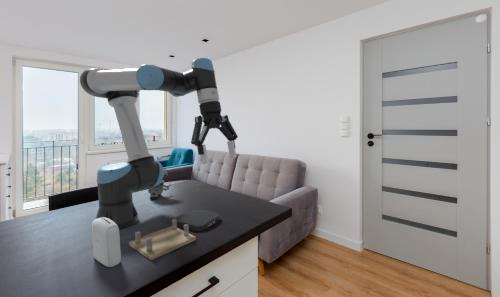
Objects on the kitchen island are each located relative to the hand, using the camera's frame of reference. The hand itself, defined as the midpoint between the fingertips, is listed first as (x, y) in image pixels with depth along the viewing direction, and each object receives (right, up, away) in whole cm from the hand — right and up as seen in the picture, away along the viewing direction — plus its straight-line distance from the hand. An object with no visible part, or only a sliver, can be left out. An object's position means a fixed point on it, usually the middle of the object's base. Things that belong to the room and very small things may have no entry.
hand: (220, 160), depth 87 cm
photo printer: (-31, -28, -17) cm, 45 cm away
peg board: (-18, -27, -7) cm, 33 cm away
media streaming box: (-10, -26, +10) cm, 29 cm away
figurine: (-38, -22, +44) cm, 62 cm away
